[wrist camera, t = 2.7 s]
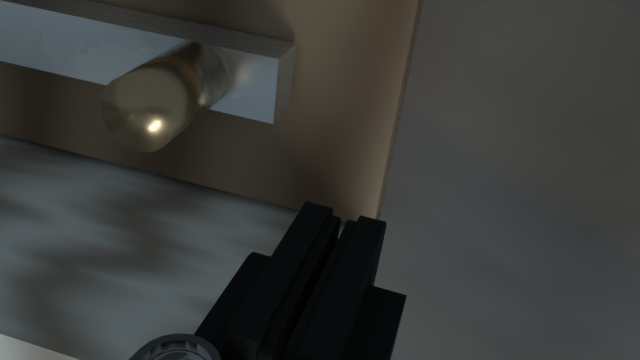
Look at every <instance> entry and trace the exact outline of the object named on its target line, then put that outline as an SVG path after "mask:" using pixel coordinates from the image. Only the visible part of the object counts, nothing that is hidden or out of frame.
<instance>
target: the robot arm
mask: <svg viewBox="0 0 640 360" xmlns="http://www.w3.org/2000/svg"><path fill="white" fill-rule="evenodd" d="M340 223H341V218H340V217H338V216H334V215H333V208H331V207H328V206H324V205H320V204H316V203H312V202H309V201H306V202H305V203H304V205H303V206H302V208H301V210H300V211H299V213H298V214H297V216H296V217H295V219H294V221H293V222H292V224H291V225H290V227H289V228H288V230H287V232H286V233H285V235H284V236H283V238H282V240H281V241H280V243H279V244H278V246H277V247H276V249H275V251H274V252H273V254H272V255H271V256H267V255H264V254H260V253H257V252H252V253H250V254H249V255H248V256H247V258H246V259H245V261H244V262H243V263H242V265H241V266H240V268H239V269H238V271H237V272H236V274H235V275H234V276H233V278H232V279H231V281H230V282H229V284H228V285H227V287H226V288H225V289H224V291H223V292H222V294H221V295H220V297H219V298H218V300H217V301H216V303H215V304H214V305H213V307H212V308H211V310H210V311H209V313H208V314H207V316H206V317H205V318H204V320H203V321H202V323H201V324H200V326H199V327H198V329H197V330H196V331H195V333H194V334H193V335H192V334H180V333H176V334H169V335H163V336H161V337H158V338H156V339H153V340H151V341H149V342H148V343H147V344H145V345H144V346H143V347H141V348H140V349H139V350H138V351H137V352H136V353H135V354H134V355H133V356H132V357H131V358H130V359H129V360H390V359H391V356H392V352H393V348H394V344H395V340H396V336H397V332H398V328H399V324H400V320H401V316H402V312H403V308H404V304H405V300H406V296H407V295H403V294H400V293H396V292H393V291H389V290H386V289H382V288H379V287H375V286H374V282H375V277H376V272H377V268H378V263H379V258H380V253H381V249H382V244H383V239H384V234H385V229H386V222H384V221H381V220H377V219H373V218H369V217H365V216H362V215H360V216H359V218H358V220H357V221H353V220H349V219H348V220H347V222H346V224H345V226H344V228H343V230H342V232H341V235H340V237H339V239H338V236H339V229H340Z"/></svg>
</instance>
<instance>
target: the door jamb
mask: <svg viewBox="0 0 640 360" xmlns="http://www.w3.org/2000/svg"><path fill="white" fill-rule="evenodd" d="M86 1H91V2H96V3H101V4H106V5H111V6H116V7H121V8H125V9H130V10H135V11H140V12H145V13H150V14H155V15H160V16H165V17H169V18H174V19H179V20H184V21H189V22H194V23H199V24H204V25H208V26H213V27H218V28H223V29H228V30H233V31H238V32H243V33H247V34H252V35H257V36H262V37H267V38H272V39H277V40H282V41H286V42H291V43H296V44H297V47H296V57H295V66H294V76H293V86H292V95H291V105H290V106H289V107H288V108H287V109H286V110H285V111H284V112H283V113H282V115H281V116H280V117H279V118H278V119H277V120H276V121H275V122H274V124H271V123H267V122H262V121H258V120H254V119H249V118H245V117H241V116H236V115H232V114H228V113H223V112H219V111H215V110H210V109H208V110H207V111H206V112H205V113H203V114H202V115H201V116H200V117H199V118H197V119H196V120H195V121H194V122H193V123H191V124H190V125H189V126H188V127H187V128H185V129H184V130H183V131H182V132H180V133H179V134H178V135H177V136H176V137H174V138H173V139H172V140H171V141H170V142H168V143H167V144H166V145H165V146H164V147H162V148H161V149H159V150H157V151H153V152H139V151H135V150H132V149H130V148H128V147H126V146H124V145H123V144H121V143H120V142H119V141H118V140H117V139H116V138H115V137H114V136H113V135H112V134H111V133H110V131H109V130H108V128H107V127H106V125H105V123H104V120H103V118H102V114H101V108H100V101H101V96H102V93H103V91H104V89H105V87H106V86H107V85H103V84H98V83H94V82H90V81H85V80H81V79H77V78H72V77H68V76H64V75H59V74H55V73H51V72H46V71H42V70H38V69H34V68H29V67H25V66H21V65H16V64H12V63H8V62H3V61H0V360H129V359H130V358H131V357H132V356H133V355H134V354H135V353H136V352H137V351H138V350H139V349H140V348H141V347H143V346H144V345H145V344H147V343H148V342H149V341H151V340H153V339H156V338H158V337H161V336H163V335H169V334H176V333H180V334H192V335H193V334H194V333H195V331H196V330H197V329H198V327H199V326H200V324H201V323H202V321H203V320H204V318H205V317H206V316H207V314H208V313H209V311H210V310H211V308H212V307H213V305H214V304H215V303H216V301H217V300H218V298H219V297H220V295H221V294H222V292H223V291H224V289H225V288H226V287H227V285H228V284H229V282H230V281H231V279H232V278H233V276H234V275H235V274H236V272H237V271H238V269H239V268H240V266H241V265H242V263H243V262H244V261H245V259H246V258H247V256H248V255H249V254H250V253H252V252H257V253H260V254H264V255H267V256H271V255H272V254H273V252H274V251H275V249H276V247H277V246H278V244H279V243H280V241H281V240H282V238H283V236H284V235H285V233H286V232H287V230H288V228H289V227H290V225H291V224H292V222H293V221H294V219H295V217H296V216H297V214H298V213H299V211H300V210H301V208H302V206H303V205H304V203H305V202H306V201H309V202H312V203H316V204H320V205H324V206H328V207H331V208H333V215H334V216H338V217H340V218H341V223H340V229H339V236H338V239H339V237H340V235H341V232H342V230H343V228H344V226H345V224H346V222H347V220H348V219H349V220H353V221H357V220H358V218H359V216H360V215H362V216H365V217H369V218H373V219H377V220H379V217H380V215H379V212H380V209H381V207H382V202H383V197H384V192H385V188H386V183H387V178H388V173H389V168H390V163H391V158H392V153H393V148H394V143H395V138H396V133H397V128H398V123H399V118H400V113H401V109H402V104H403V99H404V94H405V89H406V84H407V79H408V74H409V69H410V64H411V59H412V54H413V49H414V44H415V39H416V34H417V30H418V25H419V20H420V15H421V10H422V5H423V0H86Z"/></svg>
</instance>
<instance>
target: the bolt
mask: <svg viewBox="0 0 640 360" xmlns="http://www.w3.org/2000/svg"><path fill="white" fill-rule="evenodd" d="M296 47H297V44H296V43H291V42H286V41H282V40H277V39H272V38H267V37H262V36H257V35H252V34H247V33H243V32H238V31H233V30H228V29H223V28H218V27H213V26H208V25H204V24H199V23H194V22H189V21H184V20H179V19H174V18H169V17H165V16H160V15H155V14H150V13H145V12H140V11H135V10H130V9H125V8H121V7H116V6H111V5H106V4H101V3H96V2H91V1H86V0H0V61H3V62H8V63H12V64H16V65H21V66H25V67H29V68H34V69H38V70H42V71H46V72H51V73H55V74H59V75H64V76H68V77H72V78H77V79H81V80H85V81H90V82H94V83H98V84H103V85H107V86H106V87H105V89H104V91H103V93H102V96H101V101H100V108H101V114H102V118H103V120H104V123H105V125H106V127H107V128H108V130H109V131H110V133H111V134H112V135H113V136H114V137H115V138H116V139H117V140H118V141H119V142H120V143H121V144H123V145H124V146H126V147H128V148H130V149H132V150H135V151H139V152H153V151H157V150H159V149H161V148H162V147H164V146H165V145H166V144H167V143H168V142H170V141H171V140H172V139H173V138H174V137H176V136H177V135H178V134H179V133H180V132H182V131H183V130H184V129H185V128H187V127H188V126H189V125H190V124H191V123H193V122H194V121H195V120H196V119H197V118H199V117H200V116H201V115H202V114H203V113H205V112H206V111H207V110H208V109H210V110H215V111H219V112H223V113H228V114H232V115H236V116H241V117H245V118H249V119H254V120H258V121H262V122H267V123H271V124H274V122H275V121H276V120H277V119H278V118H279V117H280V116H281V115H282V113H283V112H284V111H285V110H286V109H287V108H288V107H289V106H290V105H291V95H292V86H293V76H294V66H295V57H296Z"/></svg>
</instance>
